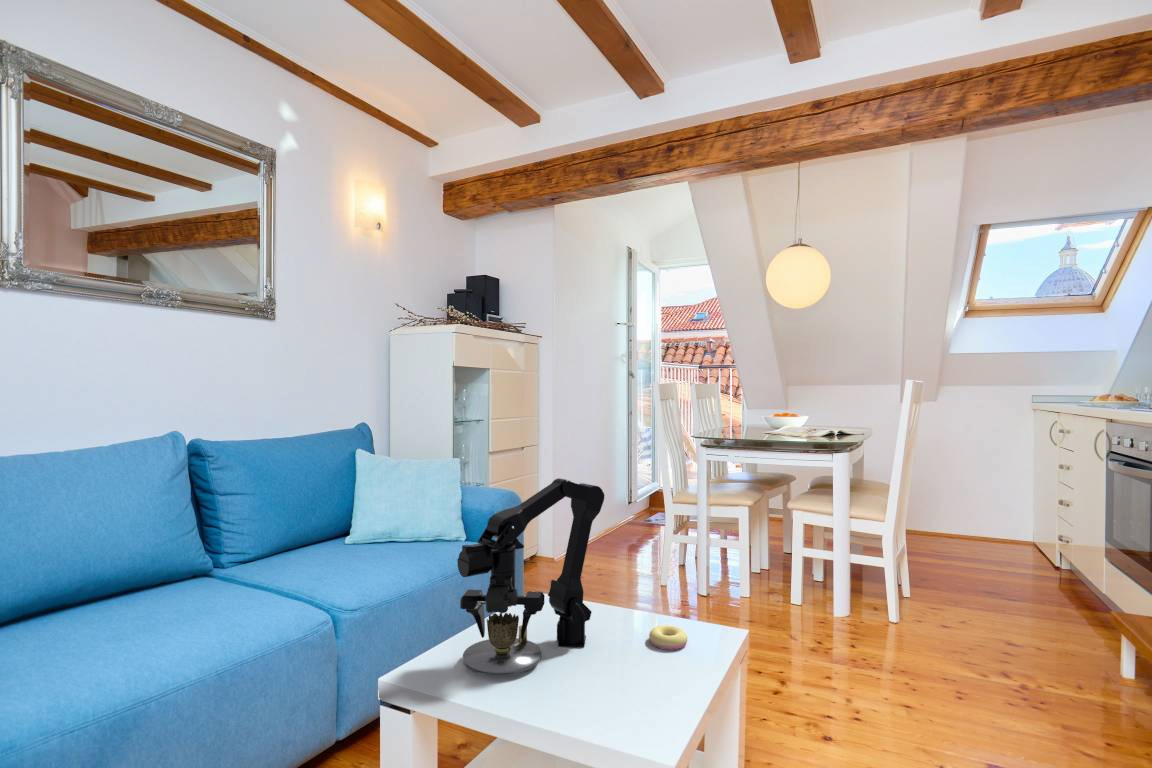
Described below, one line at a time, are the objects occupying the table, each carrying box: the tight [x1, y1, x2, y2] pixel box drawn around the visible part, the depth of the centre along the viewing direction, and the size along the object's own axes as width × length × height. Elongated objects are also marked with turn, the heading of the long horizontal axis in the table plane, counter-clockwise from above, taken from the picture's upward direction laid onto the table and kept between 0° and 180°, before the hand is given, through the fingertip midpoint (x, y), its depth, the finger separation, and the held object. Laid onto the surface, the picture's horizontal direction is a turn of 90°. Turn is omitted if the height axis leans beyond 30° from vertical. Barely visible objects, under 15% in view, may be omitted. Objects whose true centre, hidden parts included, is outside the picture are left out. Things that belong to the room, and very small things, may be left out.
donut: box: [648, 624, 688, 650], centre depth 150 cm, size 10×5×9 cm
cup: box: [486, 612, 520, 655], centre depth 139 cm, size 8×7×8 cm
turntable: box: [462, 624, 543, 676], centre depth 138 cm, size 18×18×4 cm
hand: (502, 637), depth 138 cm, fingers open, 9 cm apart
